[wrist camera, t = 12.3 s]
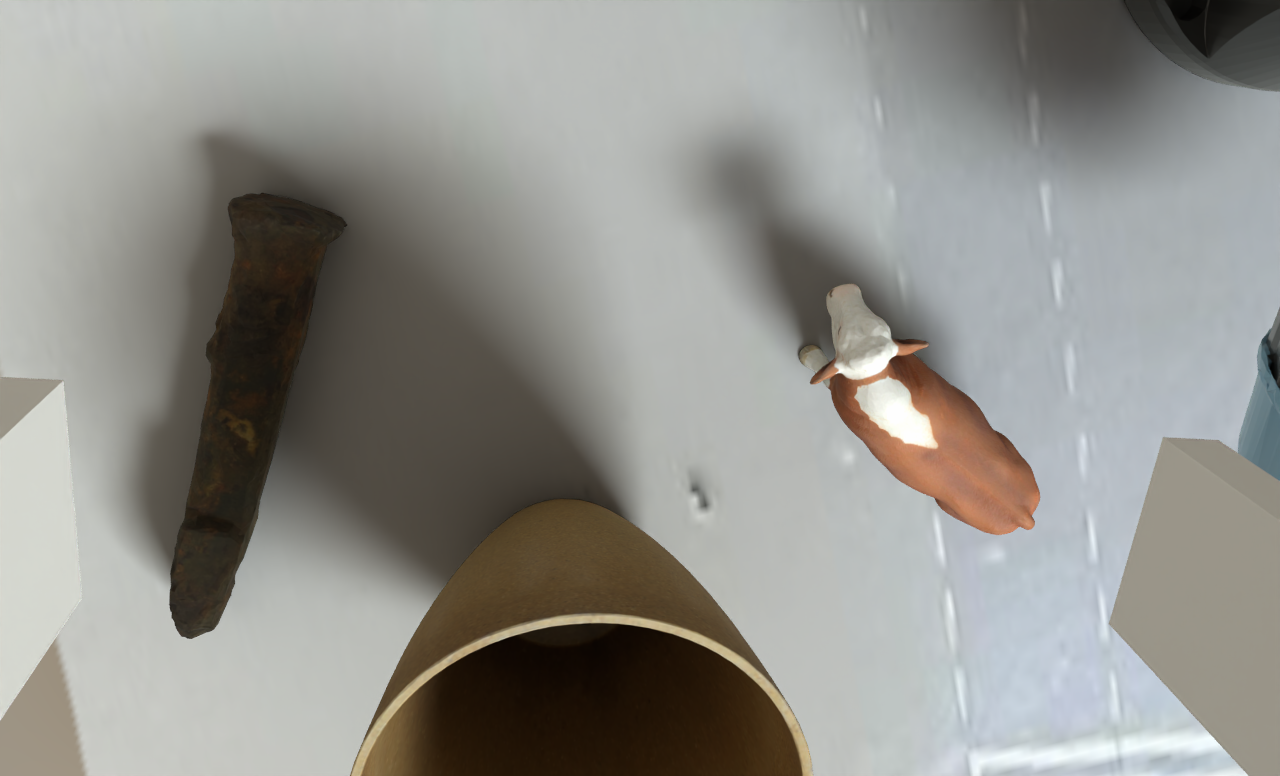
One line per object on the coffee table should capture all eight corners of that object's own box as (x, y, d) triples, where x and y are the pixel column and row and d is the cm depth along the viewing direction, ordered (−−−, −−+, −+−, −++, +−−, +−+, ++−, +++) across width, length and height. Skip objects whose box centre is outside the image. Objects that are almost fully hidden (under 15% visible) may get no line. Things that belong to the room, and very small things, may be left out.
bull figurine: (818, 230, 45) (881, 284, 38) (1000, 440, 50) (1089, 524, 42) (739, 302, 46) (785, 368, 38) (926, 502, 51) (1000, 596, 43)
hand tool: (249, 175, 42) (220, 199, 38) (352, 209, 43) (335, 237, 39) (144, 585, 48) (108, 647, 44) (237, 608, 49) (211, 670, 44)
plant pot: (789, 537, 50) (908, 775, 36) (582, 753, 53) (612, 1056, 39) (535, 346, 46) (550, 528, 31) (324, 595, 49) (246, 870, 34)
